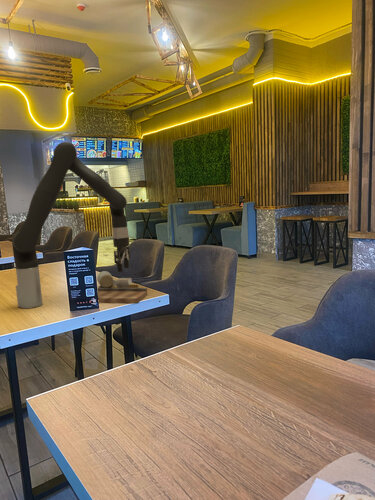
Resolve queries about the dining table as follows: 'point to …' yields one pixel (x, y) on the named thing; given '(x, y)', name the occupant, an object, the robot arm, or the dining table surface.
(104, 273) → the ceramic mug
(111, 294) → the walnut board
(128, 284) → the marking gauge
